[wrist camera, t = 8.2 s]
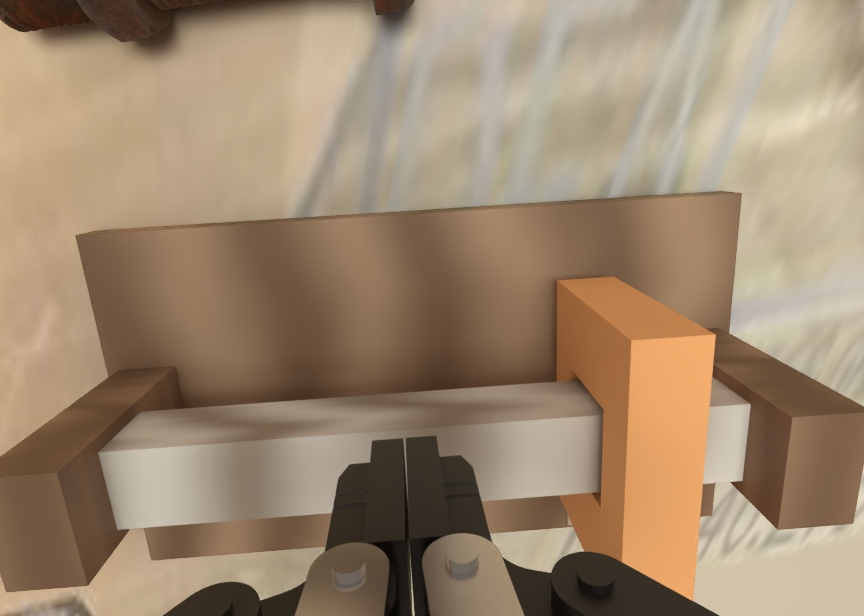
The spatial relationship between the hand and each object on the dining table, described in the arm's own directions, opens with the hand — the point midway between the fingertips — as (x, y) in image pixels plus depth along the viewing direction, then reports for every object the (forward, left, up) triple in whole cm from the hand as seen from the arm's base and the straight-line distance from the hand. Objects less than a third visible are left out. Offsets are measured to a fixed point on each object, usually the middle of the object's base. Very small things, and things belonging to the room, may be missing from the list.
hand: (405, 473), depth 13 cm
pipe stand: (+1, -3, -13) cm, 14 cm away
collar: (+8, -3, -11) cm, 14 cm away
